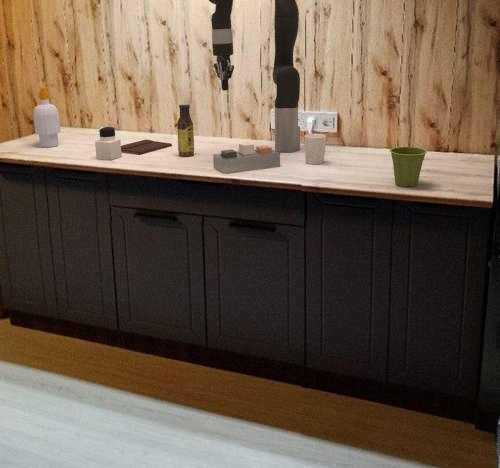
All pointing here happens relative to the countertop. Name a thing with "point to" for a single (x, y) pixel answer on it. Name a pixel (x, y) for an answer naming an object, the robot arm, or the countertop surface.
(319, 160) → the grey cup
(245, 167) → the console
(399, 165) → the plant pot
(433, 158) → the countertop surface
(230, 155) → the charcoal key
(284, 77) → the robot arm
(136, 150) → the notebook
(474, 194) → the countertop surface
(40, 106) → the soap bottle
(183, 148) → the sauce bottle
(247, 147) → the off-white cube
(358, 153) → the countertop surface
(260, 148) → the terracotta key
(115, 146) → the medicine bottle
